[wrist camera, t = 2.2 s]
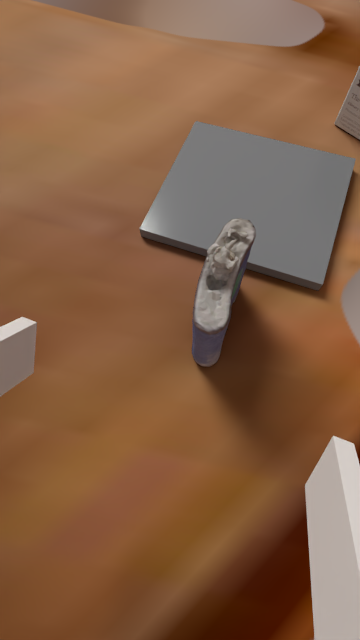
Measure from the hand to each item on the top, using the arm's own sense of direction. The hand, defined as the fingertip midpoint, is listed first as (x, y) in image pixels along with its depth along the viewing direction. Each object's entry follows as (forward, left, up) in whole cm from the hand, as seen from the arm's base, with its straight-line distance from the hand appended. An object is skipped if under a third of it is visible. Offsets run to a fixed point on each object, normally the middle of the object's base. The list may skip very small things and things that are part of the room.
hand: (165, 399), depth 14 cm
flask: (0, +10, -14) cm, 17 cm away
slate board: (-1, +24, -14) cm, 28 cm away
